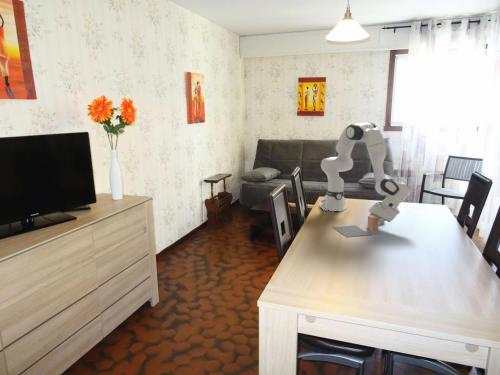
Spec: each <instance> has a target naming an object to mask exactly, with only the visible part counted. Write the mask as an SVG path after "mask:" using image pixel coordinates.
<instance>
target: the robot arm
mask: <svg viewBox="0 0 500 375" xmlns="http://www.w3.org/2000/svg"><path fill="white" fill-rule="evenodd" d="M357 141H364V142H365V145H366V150H367V153H368V156H369V160H370V163H371V166H372V167H371V168H372V172H373V176H374V185H373V190H374V193H376V194H377V196H381V197H384V199H383V200H382V201H378V202H376V203H373V205H371V206H372V207H369V208H368V212H369V215H368V216H371V215H375V216H377V217H379V218H381V220H379V221H377V222H376V223H377V224H378V225H379V226H380V225H381V224H383V223H385V221H386V222H387V223H391V222H392V221H394V219H395V218H396V217H397V216H398V215H399V214H400V213H401V211H400V210H399V209H398V207H399V206H400V204H401V203H403V202H404V201H405V199H407V198H408V196H409V194H410V192H411V190H410V187H409V186H408V185H407V183H404V182H399V181H396V180H394V179H393V178H391V177H386V175H385V170H384V161H385V159H386V156H387V152H388V151H387V144H386V141H385V138H384V136H383V133H382V132H381V130H380V129H379V128H378V127H377V125H376V124H375V123H373V122H359V123H351V124H350V125H347V126H346V127H344V129H343V131H342V132H341V134H340V136H339V138H338V140H337V143H336V146H335V151H336V153H337V156H329V157H326V158H323V159H322V160H321V162H320V168H321V170H322V172H324V173H325V175H326V176H327V189H326V194H325V195H324V196H323V197H322V199H321V200H320V202H321V203H320V202H319V203H318V206H319V208H322V209H323V211H328V210H329V211H328V212H334V211H339V212H344V211H345V210H347V207H346V198H345V197H344V196H345V191H344V185H345V180H344V179H343V178H342V177H340V172H348V171H350V170H352V169H353V167H354V161H353V158H352V157H351V154H352V151H353V149H354V147H355V144H356V142H357ZM322 209H321V210H322Z"/></svg>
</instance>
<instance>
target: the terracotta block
mask: <svg viewBox="0 0 500 375" xmlns="http://www.w3.org/2000/svg"><path fill="white" fill-rule="evenodd" d="M377 221H379V217H377V216H375V215H371V216H369V215H367V225H366V226H367V227H366V228H367V229H368V230H370V231H379V226H380V225H378V224H377V223H376V222H377Z"/></svg>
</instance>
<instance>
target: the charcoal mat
mask: <svg viewBox="0 0 500 375" xmlns="http://www.w3.org/2000/svg"><path fill="white" fill-rule="evenodd" d="M332 229H334V230H335V231H336V232H338V233H340V234H341V235H342V236H344V237H345V238H351V237H352V238H353V237H355V238H356V237H367V236H372V234H370V233H369V232H367V231H365V230H364V229H362V228H361V227H359V226H358V225H342V226H341V225H340V226H332Z"/></svg>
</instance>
